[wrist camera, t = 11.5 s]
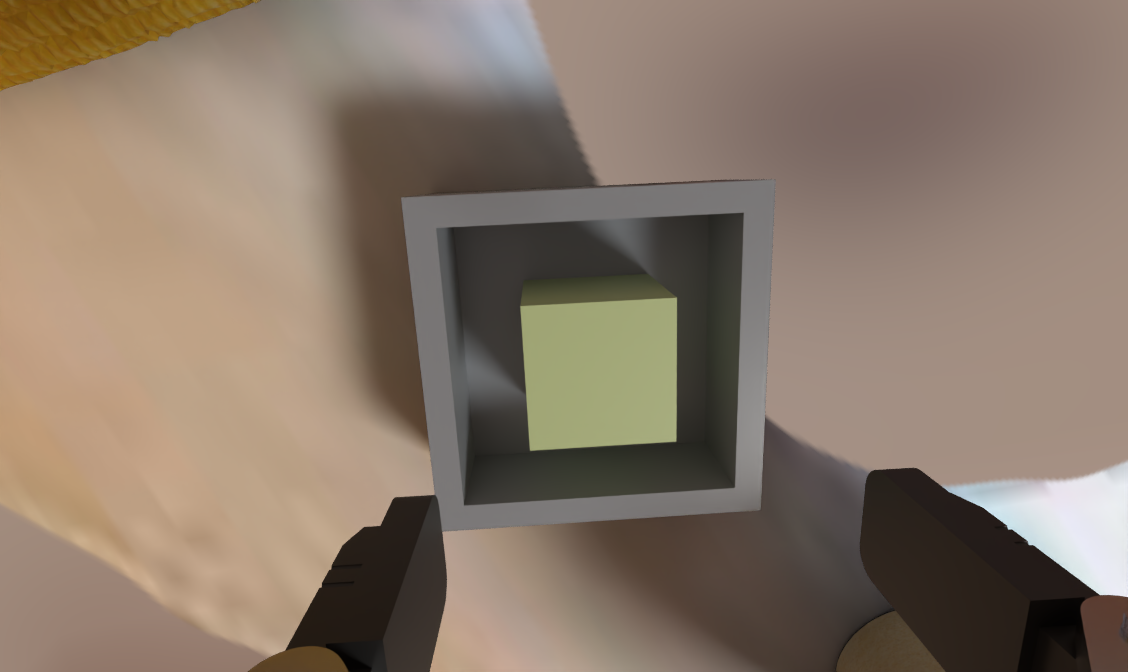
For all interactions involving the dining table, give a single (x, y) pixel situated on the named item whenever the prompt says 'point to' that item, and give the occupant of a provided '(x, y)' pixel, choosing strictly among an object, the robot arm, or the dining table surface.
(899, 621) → the plant pot
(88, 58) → the food
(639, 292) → the green block
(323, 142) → the dining table surface
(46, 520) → the dining table surface
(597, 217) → the bin
